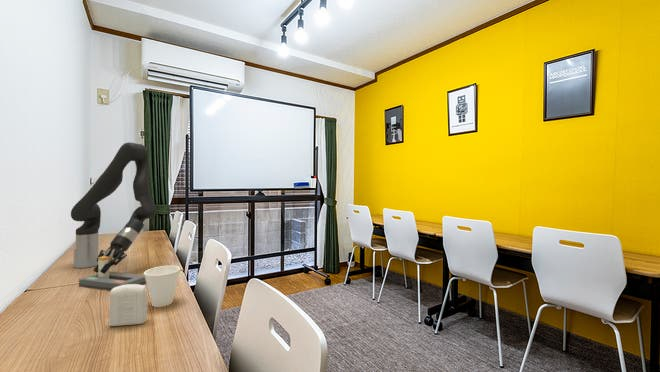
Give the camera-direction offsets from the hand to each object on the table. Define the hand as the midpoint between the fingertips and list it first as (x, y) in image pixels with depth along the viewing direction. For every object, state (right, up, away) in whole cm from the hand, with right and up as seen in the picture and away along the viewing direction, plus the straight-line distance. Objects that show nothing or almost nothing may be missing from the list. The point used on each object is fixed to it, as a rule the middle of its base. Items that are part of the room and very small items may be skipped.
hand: (98, 272), depth 127 cm
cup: (+39, -6, -19) cm, 43 cm away
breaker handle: (+1, -4, +2) cm, 5 cm away
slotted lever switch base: (+6, -6, +1) cm, 8 cm away
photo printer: (+37, -7, -34) cm, 50 cm away
